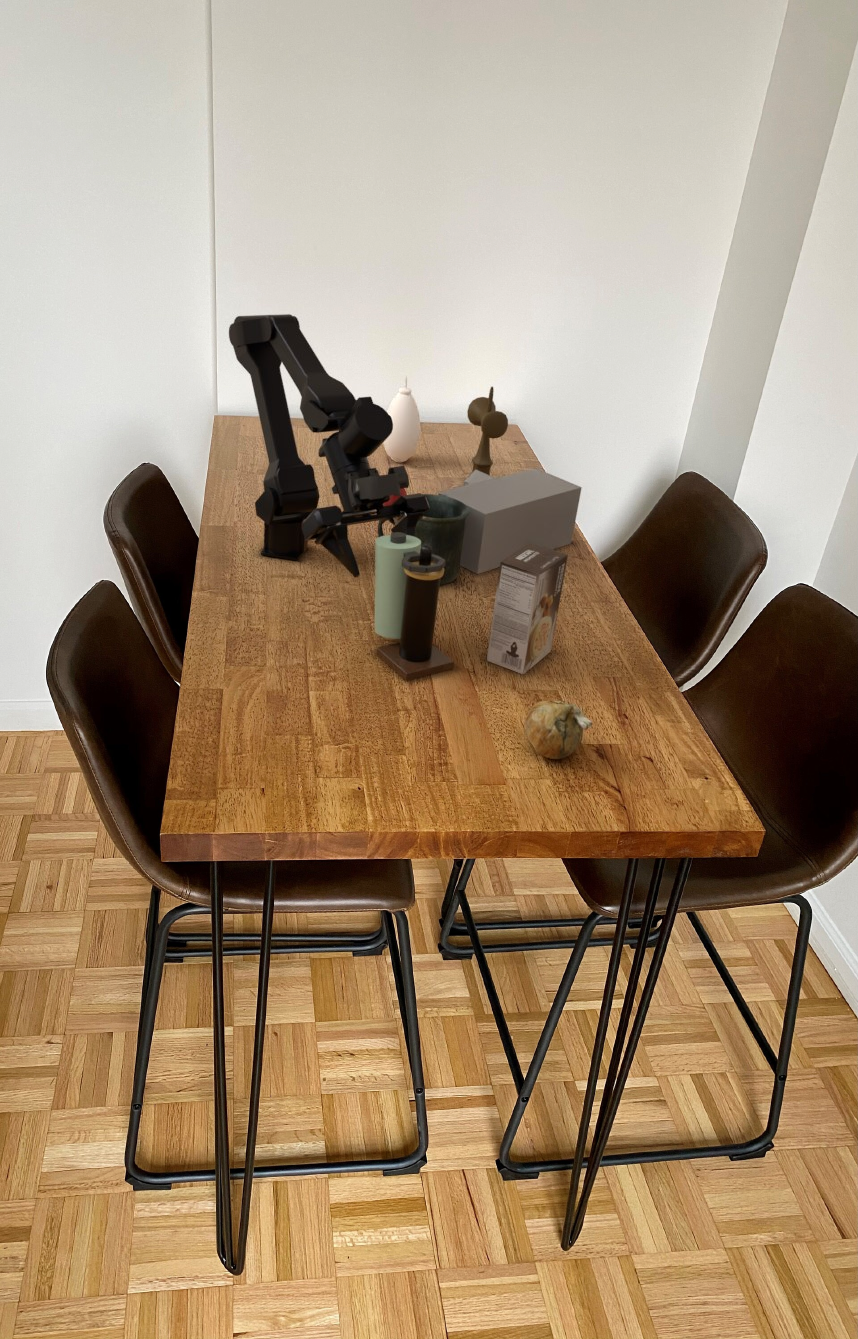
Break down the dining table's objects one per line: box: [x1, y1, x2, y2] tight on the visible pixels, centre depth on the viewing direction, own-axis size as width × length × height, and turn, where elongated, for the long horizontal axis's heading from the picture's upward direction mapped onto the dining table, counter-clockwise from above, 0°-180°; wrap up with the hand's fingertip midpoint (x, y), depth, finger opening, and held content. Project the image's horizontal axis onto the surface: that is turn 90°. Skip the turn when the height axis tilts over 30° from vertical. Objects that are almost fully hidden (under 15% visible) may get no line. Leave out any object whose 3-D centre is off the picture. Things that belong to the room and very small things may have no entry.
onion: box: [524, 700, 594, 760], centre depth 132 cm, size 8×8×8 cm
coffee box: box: [486, 543, 569, 675], centre depth 150 cm, size 9×6×16 cm
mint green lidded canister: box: [374, 532, 445, 640], centre depth 147 cm, size 13×6×14 cm, turn 31°
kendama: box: [466, 386, 509, 478], centre depth 210 cm, size 6×10×20 cm, turn 15°
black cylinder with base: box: [375, 545, 455, 682], centre depth 145 cm, size 8×8×18 cm
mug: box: [377, 493, 469, 586], centre depth 172 cm, size 11×15×12 cm
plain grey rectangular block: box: [438, 467, 583, 575], centre depth 189 cm, size 25×23×11 cm
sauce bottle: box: [382, 375, 421, 464], centre depth 217 cm, size 8×8×18 cm
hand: (384, 571), depth 151 cm, fingers open, 9 cm apart
